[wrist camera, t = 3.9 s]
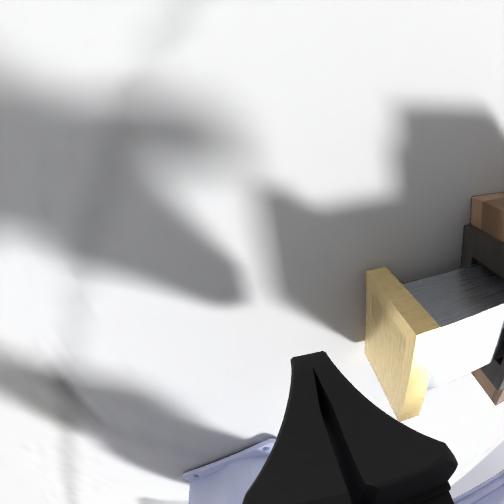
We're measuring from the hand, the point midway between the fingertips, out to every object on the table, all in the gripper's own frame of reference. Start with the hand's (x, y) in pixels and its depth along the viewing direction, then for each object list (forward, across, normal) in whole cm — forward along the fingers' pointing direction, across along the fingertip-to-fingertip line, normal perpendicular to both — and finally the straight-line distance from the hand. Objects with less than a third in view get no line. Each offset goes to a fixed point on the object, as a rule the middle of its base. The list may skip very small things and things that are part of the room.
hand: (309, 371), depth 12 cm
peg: (+3, -8, 0) cm, 9 cm away
